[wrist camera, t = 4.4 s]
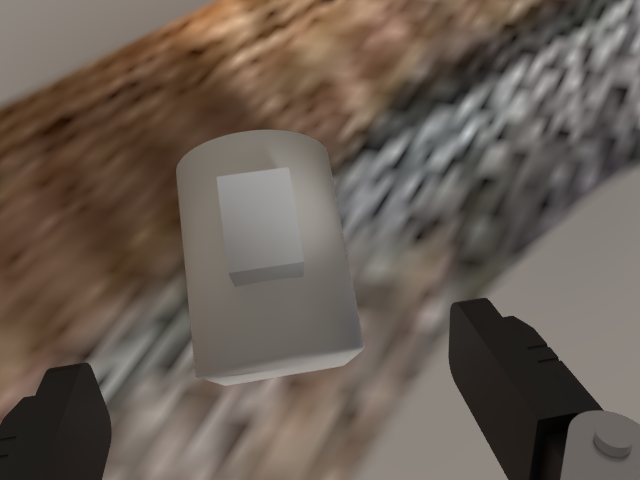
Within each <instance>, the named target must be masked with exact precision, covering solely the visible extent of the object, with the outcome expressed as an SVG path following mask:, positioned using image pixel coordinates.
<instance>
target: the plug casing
mask: <svg viewBox="0 0 640 480" xmlns="http://www.w3.org/2000/svg"><path fill="white" fill-rule="evenodd" d="M176 179H177V189H178V199H179V210H180V220H181V231H182V241H183V252H184V262H185V272H186V283H187V293H188V304H189V314H190V325H191V335H192V346H193V356H194V366H195V376H196V377H198V378H202V379H205V380H208V381H212V382H215V383H218V384H221V385H225V386H227V385H233V384H239V383H245V382H251V381H256V380H262V379H268V378H274V377H280V376H286V375H292V374H298V373H303V372H309V371H315V370H321V369H327V368H333V367H339V366H344V365H345V364H346V363H348V362H349V361H350V360H351V359H352V358H354V357H355V356H356V355H357V354H359V353H360V352H361V351H362V350H363V349H364V348H365V346H364V340H363V335H362V330H361V325H360V319H359V314H358V309H357V304H356V298H355V293H354V288H353V283H352V277H351V272H350V267H349V262H348V256H347V251H346V246H345V241H344V235H343V230H342V225H341V220H340V214H339V209H338V204H337V199H336V193H335V188H334V183H333V178H332V172H331V167H330V162H329V157H328V153H327V150H326V148H325V147H324V146H323V145H322V144H321V143H320V142H319V141H317V140H316V139H314V138H312V137H310V136H307V135H304V134H301V133H297V132H292V131H284V130H253V131H244V132H238V133H233V134H229V135H224V136H221V137H218V138H215V139H212V140H210V141H207V142H205V143H203V144H201V145H199V146H197V147H195V148H194V149H192V150H190V151H189V152H188V153H187V154H185V155H184V156H183V157H182V159H181V160H180V161H179V163H178V165H177V168H176Z"/></svg>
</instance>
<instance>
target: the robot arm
mask: <svg viewBox="0 0 640 480" xmlns="http://www.w3.org/2000/svg"><path fill="white" fill-rule="evenodd" d="M449 364H450V370H451V373H452V376H453V379H454V382H455V383H456V385H457V387H458V389H459V391H460V393H461V394H462V396H463V398H464V400H465V402H466V404H467V405H468V407H469V409H470V411H471V413H472V414H473V416H474V418H475V420H476V422H477V423H478V425H479V427H480V429H481V431H482V432H483V434H484V436H485V438H486V440H487V442H488V443H489V445H490V447H491V449H492V451H493V453H494V454H495V456H496V458H497V460H498V462H499V463H500V465H501V467H502V469H503V471H504V473H505V474H506V476H507V478H508V480H640V425H639V424H638V423H636V422H635V421H633V420H631V419H629V418H627V417H625V416H623V415H620V414H617V413H613V412H608V411H604V410H603V409H602V408H601V407H600V405H599V404H598V403H597V402H596V401H595V400H594V398H593V397H592V396H591V395H590V394H589V393H588V391H587V390H586V389H585V388H584V387H583V386H582V384H581V383H580V382H579V381H578V380H577V378H576V377H575V376H574V375H573V374H572V373H571V371H570V370H569V369H568V368H567V367H566V366H565V365H564V363H563V362H562V361H559V359H558V356H557V355H556V354H555V353H554V352H553V350H552V349H551V348H550V347H548V346H547V343H546V342H545V341H544V340H543V339H542V338H541V336H540V335H539V334H538V333H537V332H536V330H535V329H534V328H532V327H531V326H529V325H528V324H526V323H524V322H523V321H521V320H519V319H517V318H516V317H514V316H508V317H502V316H501V315H500V313H499V312H498V311H497V310H496V308H495V307H494V306H493V305H492V303H491V302H490V301H489V300H488V299H487V298H480V299H473V300H467V301H461V302H455V303H453V304H452V305H451V309H450V331H449ZM110 444H111V421H110V416H109V413H108V410H107V407H106V405H105V402H104V399H103V397H102V394H101V391H100V389H99V386H98V383H97V381H96V378H95V375H94V373H93V370H92V368H91V366H90V365H89V364H88V363H79V364H73V365H67V366H61V367H55V368H50V369H48V370H47V371H46V373H45V375H44V377H43V379H42V381H41V384H40V386H39V388H38V390H37V392H36V395H35V396H30V397H24V398H23V399H22V400H21V401H20V402H19V403H18V404H17V405H16V406H15V407H14V408H13V409H12V410H11V411H10V412H9V413H8V414H7V415H6V416H5V417H4V419H3V421H2V423H1V425H0V480H102V477H103V473H104V469H105V465H106V460H107V456H108V452H109V448H110Z"/></svg>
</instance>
